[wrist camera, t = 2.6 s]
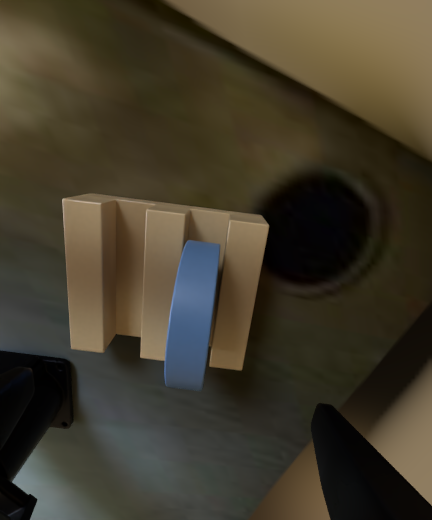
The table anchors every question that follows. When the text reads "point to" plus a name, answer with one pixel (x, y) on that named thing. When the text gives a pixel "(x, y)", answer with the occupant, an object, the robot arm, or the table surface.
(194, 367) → the blue disc
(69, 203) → the rack
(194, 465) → the table surface
